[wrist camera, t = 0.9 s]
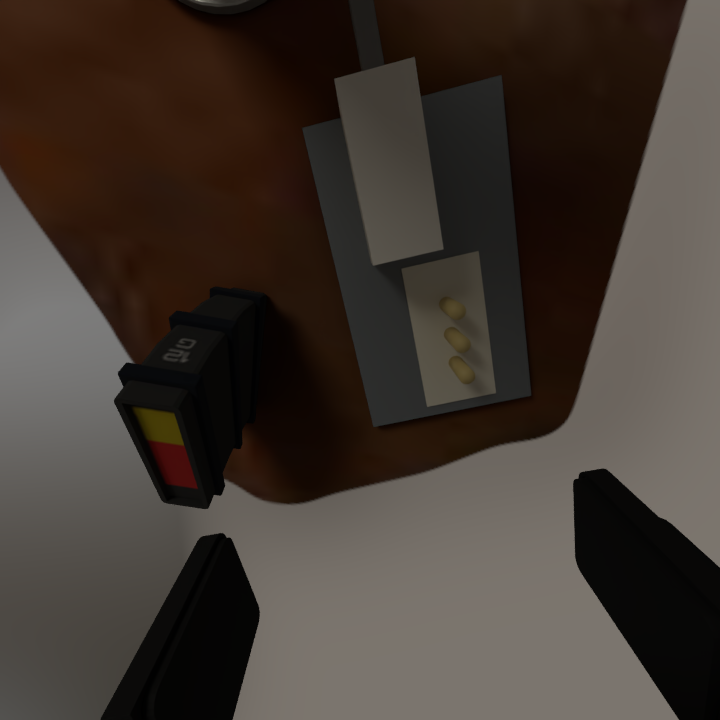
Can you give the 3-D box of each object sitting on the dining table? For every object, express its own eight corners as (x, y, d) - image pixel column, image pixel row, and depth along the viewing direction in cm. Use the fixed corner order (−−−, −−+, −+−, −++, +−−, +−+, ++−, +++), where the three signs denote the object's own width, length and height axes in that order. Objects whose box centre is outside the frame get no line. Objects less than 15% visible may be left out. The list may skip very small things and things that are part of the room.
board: (304, 133, 26) (292, 108, 22) (495, 82, 25) (525, 45, 21) (373, 420, 33) (374, 449, 29) (525, 390, 32) (552, 414, 28)
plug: (318, 13, 23) (304, -63, 18) (385, -6, 23) (392, -90, 17) (371, 262, 28) (373, 265, 22) (426, 249, 28) (443, 249, 22)
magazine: (271, 254, 27) (185, 404, 16) (273, 374, 36) (218, 523, 25) (222, 245, 27) (101, 390, 16) (236, 368, 36) (164, 515, 25)
